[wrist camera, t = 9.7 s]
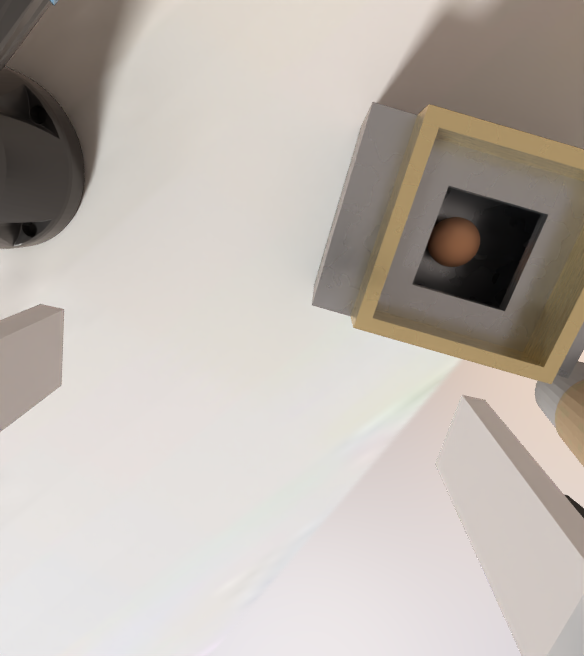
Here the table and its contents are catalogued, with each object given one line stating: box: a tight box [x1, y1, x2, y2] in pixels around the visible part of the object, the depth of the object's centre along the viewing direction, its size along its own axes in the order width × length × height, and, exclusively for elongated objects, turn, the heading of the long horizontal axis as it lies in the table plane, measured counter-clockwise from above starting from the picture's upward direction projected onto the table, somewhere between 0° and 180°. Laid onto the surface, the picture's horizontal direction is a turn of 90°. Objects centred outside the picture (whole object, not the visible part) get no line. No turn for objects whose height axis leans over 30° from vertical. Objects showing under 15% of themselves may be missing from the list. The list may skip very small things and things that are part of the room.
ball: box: [428, 217, 480, 267], centre depth 33 cm, size 4×4×4 cm
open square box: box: [312, 102, 584, 384], centre depth 31 cm, size 20×14×11 cm
